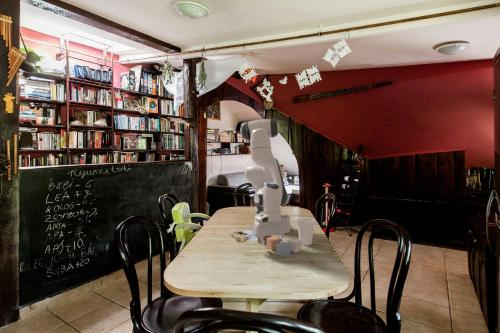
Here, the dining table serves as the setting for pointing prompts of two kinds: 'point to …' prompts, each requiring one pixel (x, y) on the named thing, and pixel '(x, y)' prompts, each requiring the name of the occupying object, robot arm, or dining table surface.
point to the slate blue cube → (283, 249)
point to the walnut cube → (264, 239)
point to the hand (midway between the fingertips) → (272, 243)
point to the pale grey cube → (294, 245)
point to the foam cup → (305, 229)
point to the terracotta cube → (272, 243)
